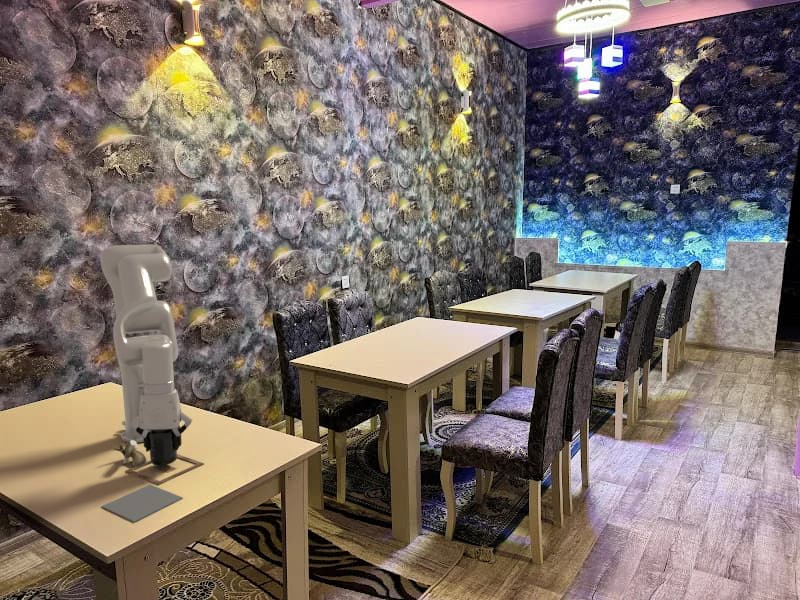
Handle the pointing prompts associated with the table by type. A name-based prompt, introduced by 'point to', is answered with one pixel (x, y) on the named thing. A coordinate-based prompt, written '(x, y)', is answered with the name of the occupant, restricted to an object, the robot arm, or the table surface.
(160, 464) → the supplement bottle
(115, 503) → the mat
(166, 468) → the frame
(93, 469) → the table surface
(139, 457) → the eagle figurine
